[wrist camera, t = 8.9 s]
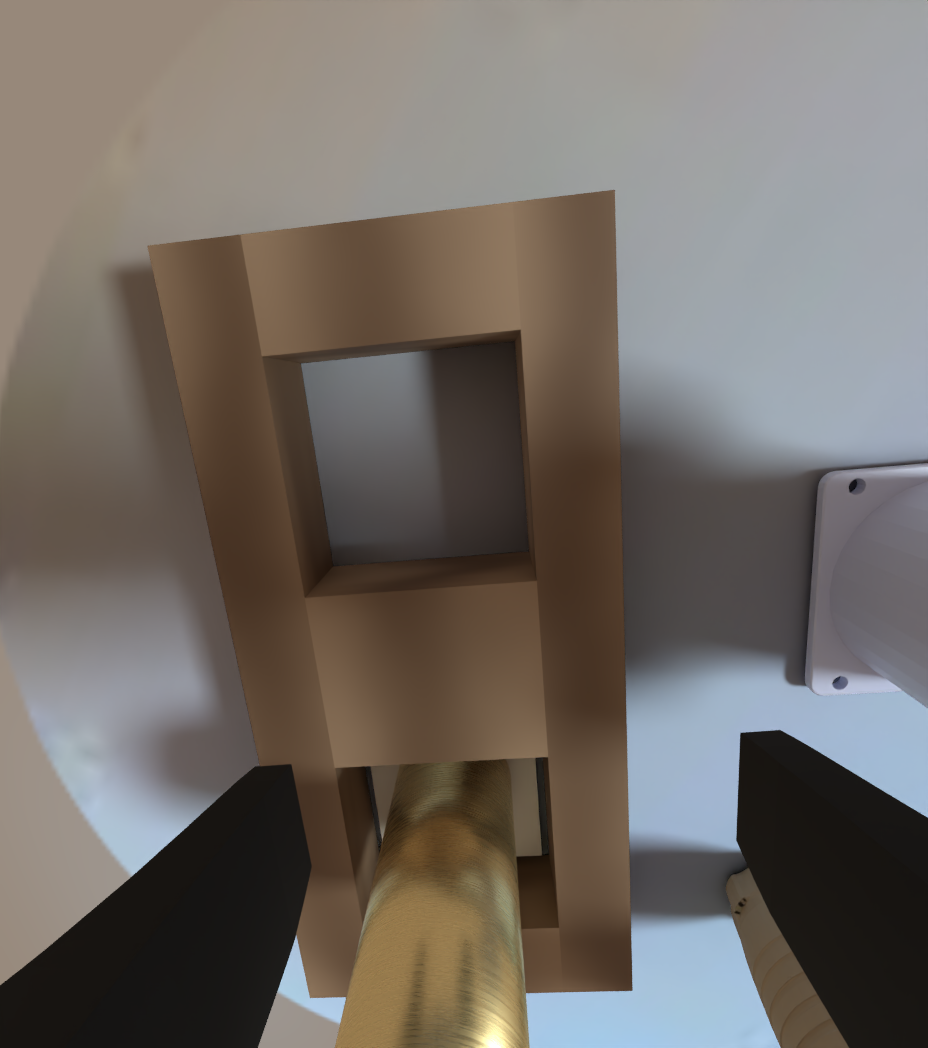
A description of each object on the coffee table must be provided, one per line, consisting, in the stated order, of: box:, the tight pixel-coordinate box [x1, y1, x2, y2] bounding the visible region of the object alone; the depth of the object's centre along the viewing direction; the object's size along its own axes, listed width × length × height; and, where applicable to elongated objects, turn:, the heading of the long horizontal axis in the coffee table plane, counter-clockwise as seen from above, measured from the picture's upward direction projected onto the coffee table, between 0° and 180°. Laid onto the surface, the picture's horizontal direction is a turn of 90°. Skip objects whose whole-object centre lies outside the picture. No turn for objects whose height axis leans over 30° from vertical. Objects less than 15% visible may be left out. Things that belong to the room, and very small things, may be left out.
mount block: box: [148, 190, 632, 998], centre depth 18 cm, size 12×26×3 cm, turn 5°
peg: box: [335, 759, 529, 1048], centre depth 15 cm, size 4×4×10 cm
